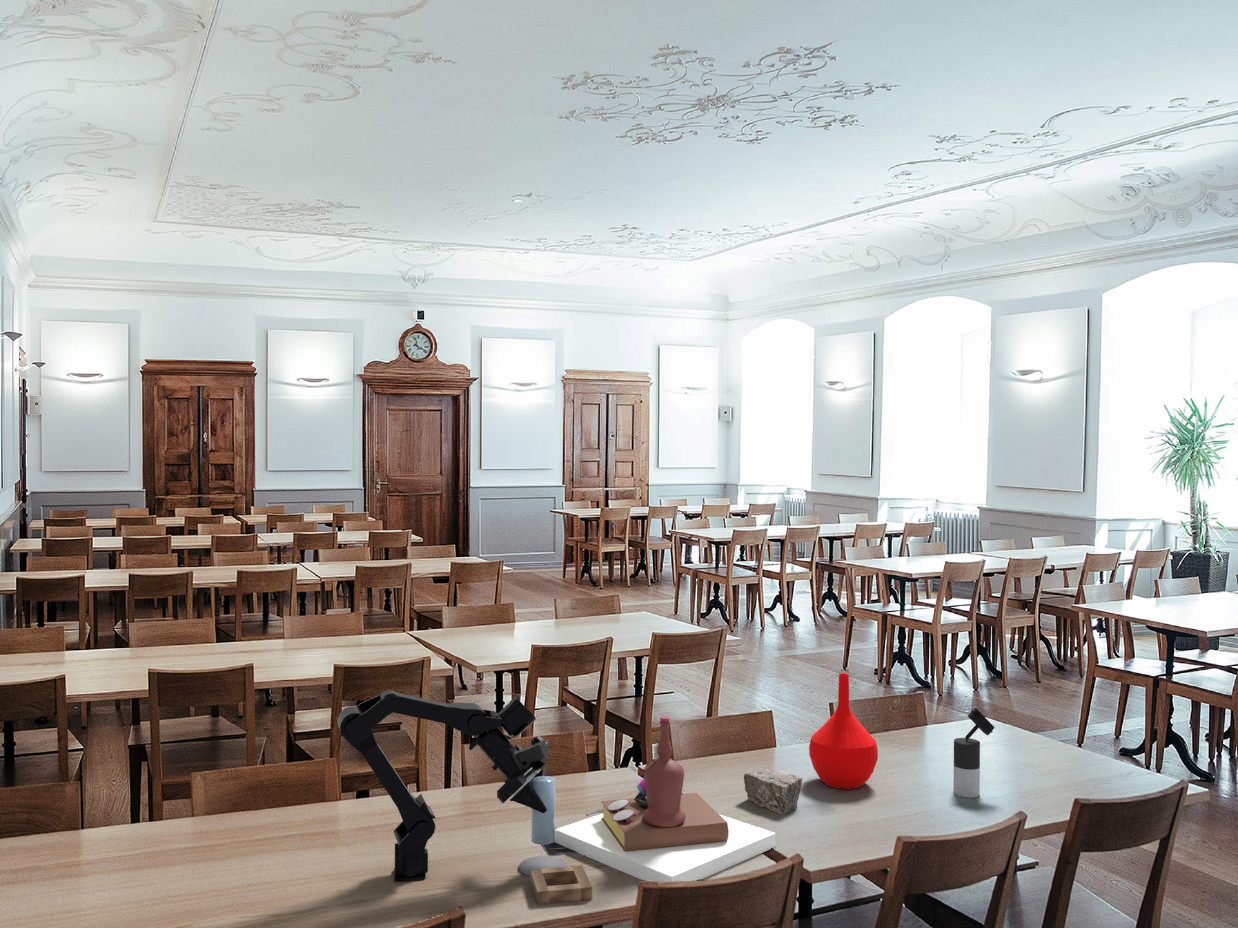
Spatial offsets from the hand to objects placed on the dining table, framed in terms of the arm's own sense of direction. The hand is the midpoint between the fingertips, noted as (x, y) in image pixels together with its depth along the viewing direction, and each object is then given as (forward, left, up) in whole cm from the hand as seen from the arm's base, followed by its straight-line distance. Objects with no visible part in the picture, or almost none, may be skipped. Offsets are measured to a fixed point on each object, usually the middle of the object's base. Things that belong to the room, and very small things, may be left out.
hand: (549, 807), depth 218 cm
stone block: (+63, +29, -14) cm, 70 cm away
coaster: (-1, +1, -13) cm, 13 cm away
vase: (+87, +41, -14) cm, 97 cm away
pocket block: (+1, -11, -13) cm, 17 cm away
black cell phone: (+4, +15, -14) cm, 21 cm away
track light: (+118, +27, -14) cm, 122 cm away
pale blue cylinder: (-1, +1, -7) cm, 7 cm away
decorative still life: (+27, +10, -14) cm, 32 cm away
